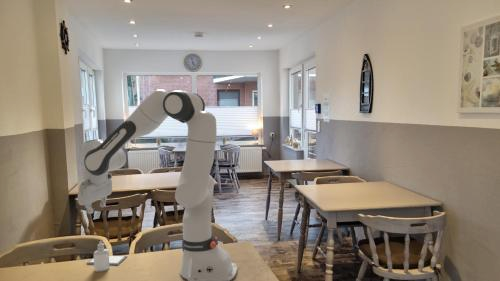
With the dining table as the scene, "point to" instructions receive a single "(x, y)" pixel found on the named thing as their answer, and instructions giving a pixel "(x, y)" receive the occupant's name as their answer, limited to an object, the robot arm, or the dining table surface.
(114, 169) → the robot arm
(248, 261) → the dining table surface
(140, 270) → the dining table surface
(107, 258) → the eye dropper bottle
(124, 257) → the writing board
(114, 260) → the paper
